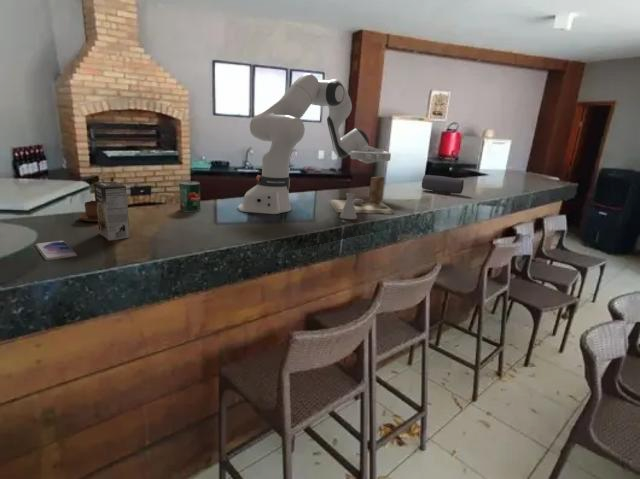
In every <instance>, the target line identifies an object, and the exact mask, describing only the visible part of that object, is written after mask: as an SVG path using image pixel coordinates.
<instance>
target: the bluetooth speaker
mask: <svg viewBox="0 0 640 479" xmlns="http://www.w3.org/2000/svg"><path fill="white" fill-rule="evenodd" d="M422 177H423V178H422V181H421V188H422V189H423V190H429V191H431V192H432V193H434V194H442V195H451V194H454V195H455V194H457V195H459V194H460V195H461V194H462V193H463V189H464V184H465V183H464V179H462V178H456V177H449V176H442V175H434V174H433V175H432V174H424V175H423V176H422Z"/></svg>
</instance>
